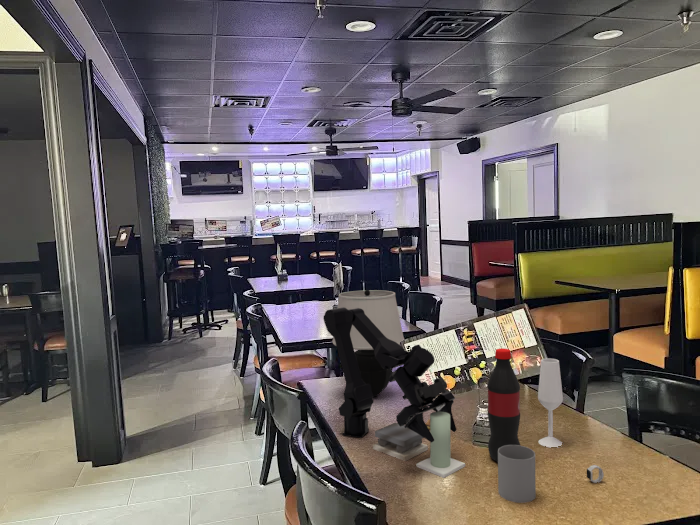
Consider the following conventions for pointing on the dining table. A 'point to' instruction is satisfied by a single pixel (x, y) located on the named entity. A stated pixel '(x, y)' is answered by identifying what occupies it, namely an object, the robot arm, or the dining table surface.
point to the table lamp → (385, 318)
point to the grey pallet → (399, 442)
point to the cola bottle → (503, 404)
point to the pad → (441, 471)
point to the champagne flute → (550, 396)
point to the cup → (516, 473)
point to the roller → (440, 439)
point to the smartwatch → (590, 473)
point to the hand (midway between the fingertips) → (444, 436)
